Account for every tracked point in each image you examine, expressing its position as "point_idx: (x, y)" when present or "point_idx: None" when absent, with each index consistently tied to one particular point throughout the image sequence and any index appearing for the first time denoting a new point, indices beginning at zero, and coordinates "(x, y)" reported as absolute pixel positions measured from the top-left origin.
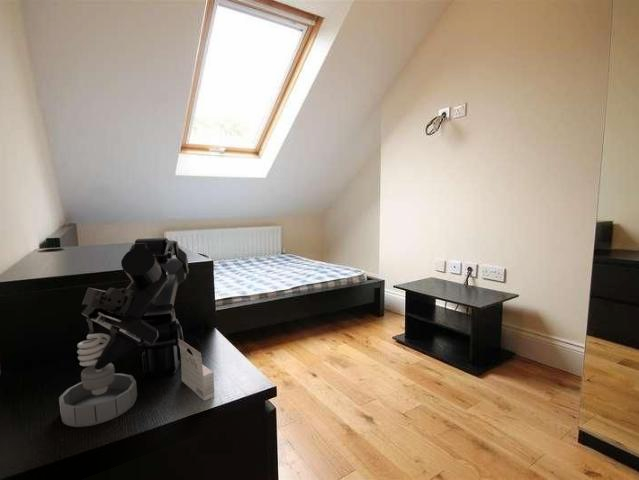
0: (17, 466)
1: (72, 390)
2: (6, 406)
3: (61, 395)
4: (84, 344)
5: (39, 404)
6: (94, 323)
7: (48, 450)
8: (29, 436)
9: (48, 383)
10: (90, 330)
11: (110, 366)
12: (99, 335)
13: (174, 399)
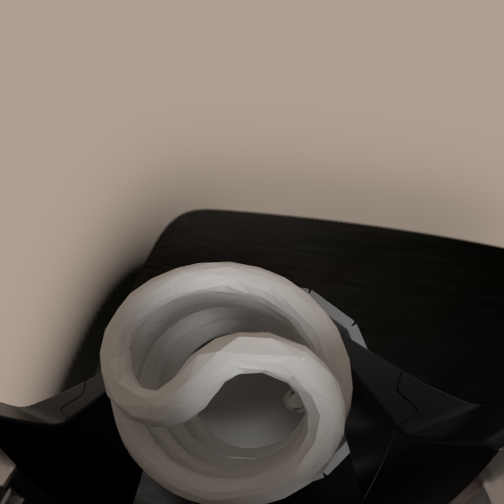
0: (188, 219)
1: (347, 334)
2: (442, 237)
3: (320, 297)
4: (156, 279)
5: (410, 285)
6: (461, 464)
7: (186, 258)
8: (272, 245)
9: (495, 315)
10: (461, 411)
11: (214, 431)
12: (138, 408)
13: (137, 494)
